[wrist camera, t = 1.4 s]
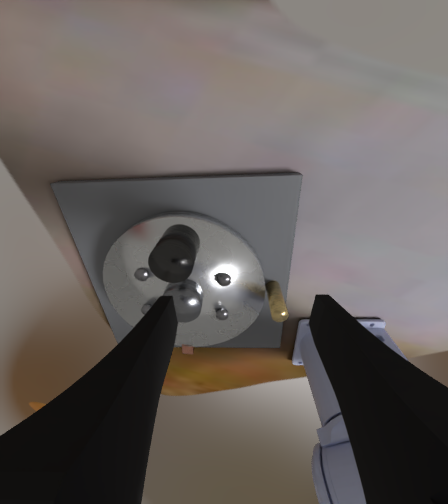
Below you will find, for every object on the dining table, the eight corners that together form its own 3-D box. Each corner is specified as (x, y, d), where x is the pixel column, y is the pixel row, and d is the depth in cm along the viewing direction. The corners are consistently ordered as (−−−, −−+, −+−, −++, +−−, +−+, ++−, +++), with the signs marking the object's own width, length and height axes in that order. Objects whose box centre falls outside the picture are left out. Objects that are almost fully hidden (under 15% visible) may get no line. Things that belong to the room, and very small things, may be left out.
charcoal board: (299, 172, 17) (302, 174, 16) (278, 340, 27) (279, 347, 26) (58, 181, 18) (50, 183, 17) (122, 339, 28) (119, 346, 27)
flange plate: (272, 334, 25) (280, 377, 20) (150, 348, 27) (133, 390, 22) (250, 194, 17) (256, 217, 13) (81, 229, 19) (35, 259, 15)
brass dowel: (280, 280, 21) (289, 309, 18) (279, 291, 22) (287, 322, 18) (265, 280, 21) (272, 310, 18) (265, 291, 22) (271, 322, 18)
